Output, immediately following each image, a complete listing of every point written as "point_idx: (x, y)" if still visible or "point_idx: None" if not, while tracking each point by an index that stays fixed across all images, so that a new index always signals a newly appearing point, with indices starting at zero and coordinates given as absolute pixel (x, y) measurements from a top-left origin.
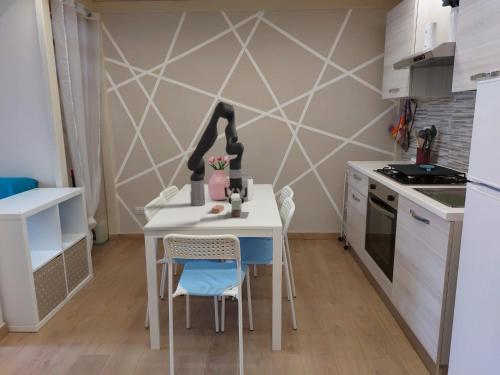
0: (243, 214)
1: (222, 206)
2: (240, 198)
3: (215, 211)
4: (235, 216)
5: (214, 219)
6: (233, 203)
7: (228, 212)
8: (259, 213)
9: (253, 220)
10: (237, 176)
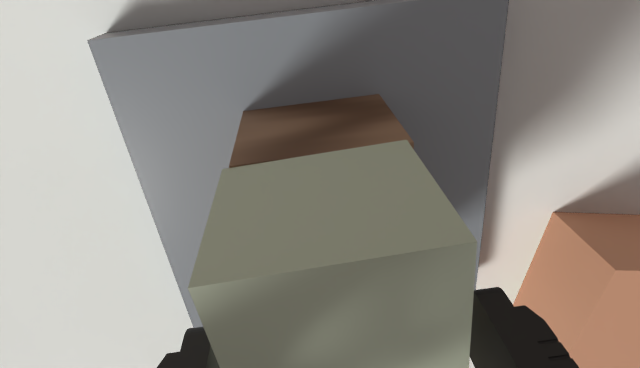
0: None
1: None
2: None
3: (636, 243)
4: (315, 103)
5: (625, 34)
6: (396, 227)
7: None
8: (99, 352)
9: (18, 81)
10: None
